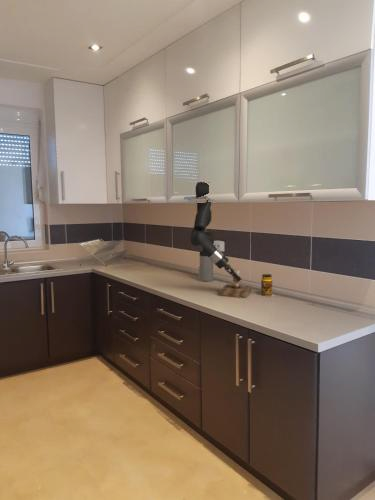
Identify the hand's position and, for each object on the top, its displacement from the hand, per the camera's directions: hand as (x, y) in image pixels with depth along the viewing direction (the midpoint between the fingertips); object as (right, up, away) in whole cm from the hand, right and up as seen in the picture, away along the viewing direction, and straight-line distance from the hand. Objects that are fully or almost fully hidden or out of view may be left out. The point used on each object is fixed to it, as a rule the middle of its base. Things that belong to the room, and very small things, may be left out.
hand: (239, 279), depth 224 cm
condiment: (+15, -9, -1) cm, 18 cm away
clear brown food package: (-2, -9, +1) cm, 9 cm away
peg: (-2, -5, +1) cm, 5 cm away
